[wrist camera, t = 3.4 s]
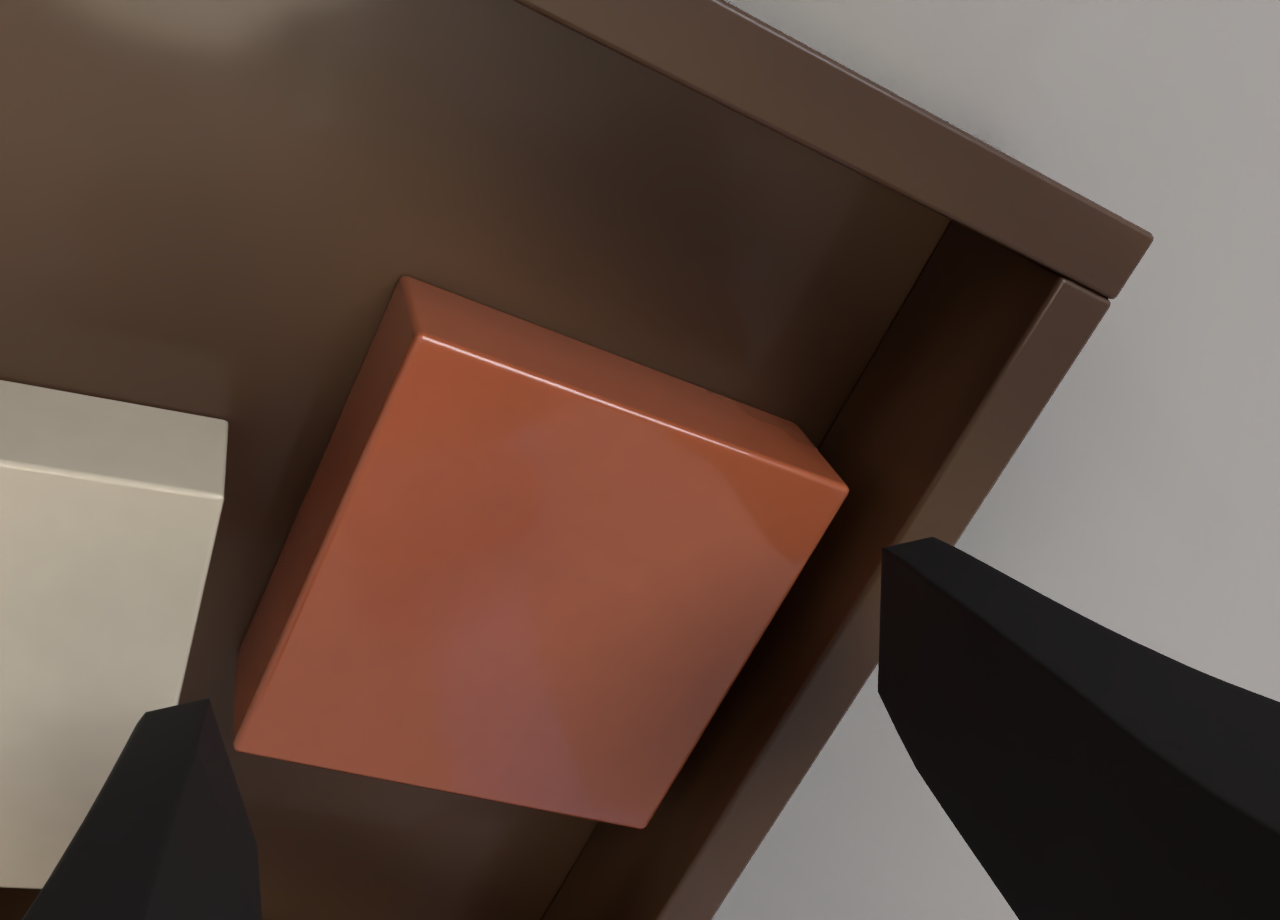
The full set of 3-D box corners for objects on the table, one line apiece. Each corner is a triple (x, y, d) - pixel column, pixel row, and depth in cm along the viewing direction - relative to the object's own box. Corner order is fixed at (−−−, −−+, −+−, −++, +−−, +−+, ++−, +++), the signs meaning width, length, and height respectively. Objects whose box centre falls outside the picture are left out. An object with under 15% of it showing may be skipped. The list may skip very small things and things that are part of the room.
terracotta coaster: (613, 743, 18) (646, 833, 16) (234, 658, 15) (230, 754, 14) (798, 422, 16) (854, 489, 14) (400, 271, 14) (418, 332, 12)
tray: (534, 954, 21) (575, 1131, 18) (-576, 802, 14) (-771, 1038, 12) (1005, 160, 16) (1158, 236, 13) (-350, -575, 10) (-591, -716, 7)
